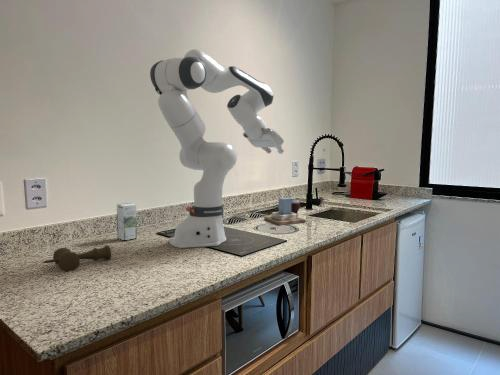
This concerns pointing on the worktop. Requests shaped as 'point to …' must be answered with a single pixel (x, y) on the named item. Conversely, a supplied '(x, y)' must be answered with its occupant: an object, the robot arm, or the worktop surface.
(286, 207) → the slate block
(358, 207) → the worktop surface
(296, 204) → the mate gourd
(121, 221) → the syrup box
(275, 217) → the walnut base board
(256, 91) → the robot arm
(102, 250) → the kendama
